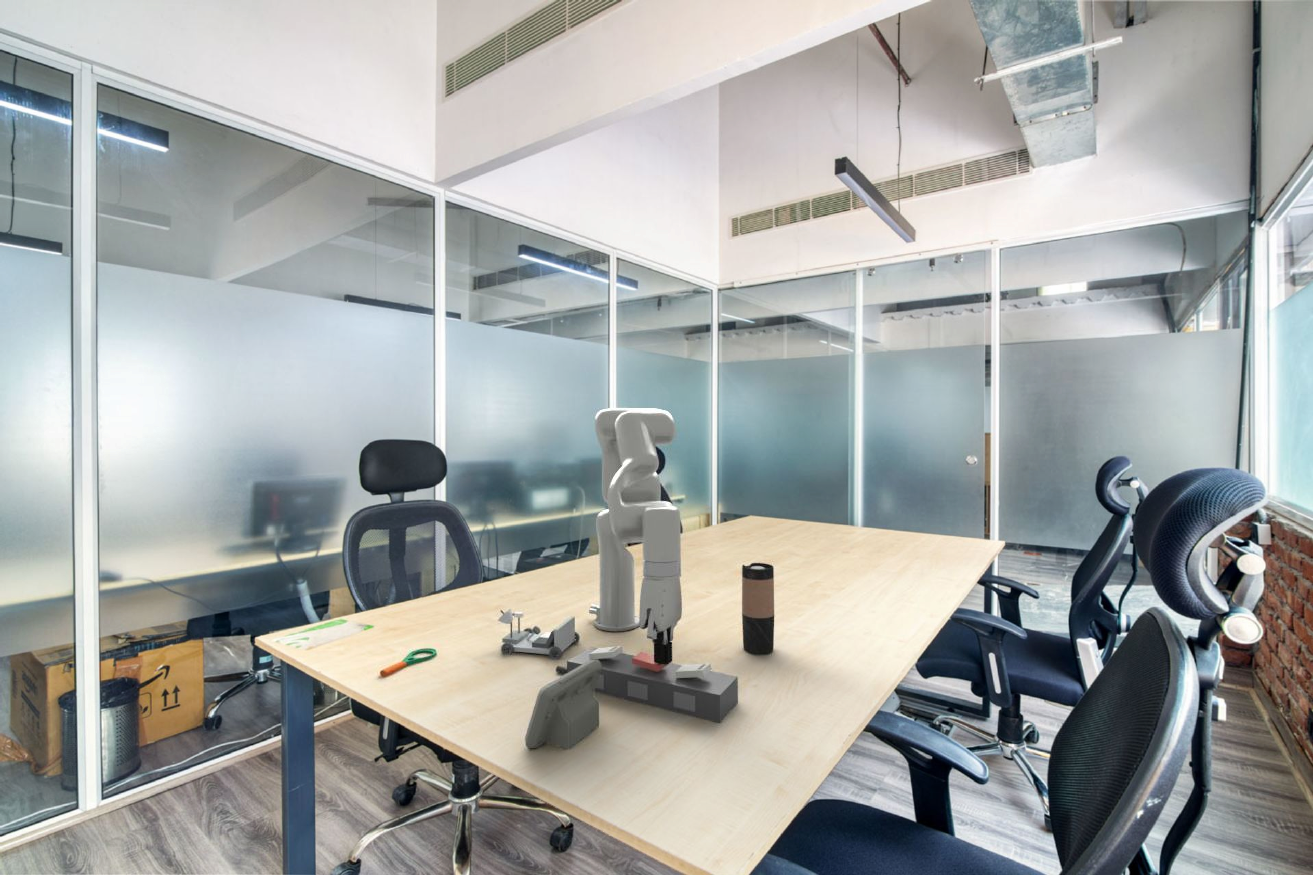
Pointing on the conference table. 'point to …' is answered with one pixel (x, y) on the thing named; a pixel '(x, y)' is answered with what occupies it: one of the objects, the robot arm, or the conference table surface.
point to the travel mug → (758, 608)
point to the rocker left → (605, 652)
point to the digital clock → (566, 708)
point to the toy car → (538, 637)
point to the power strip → (663, 686)
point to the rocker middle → (647, 662)
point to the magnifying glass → (409, 661)
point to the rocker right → (693, 670)
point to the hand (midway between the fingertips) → (663, 662)
